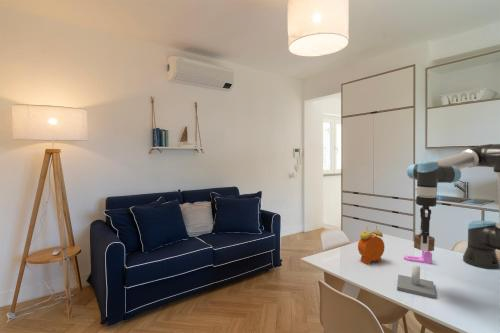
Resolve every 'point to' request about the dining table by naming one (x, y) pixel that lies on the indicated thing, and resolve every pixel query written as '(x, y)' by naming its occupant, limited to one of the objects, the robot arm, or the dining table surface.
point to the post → (416, 284)
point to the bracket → (421, 258)
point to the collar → (418, 242)
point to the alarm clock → (371, 246)
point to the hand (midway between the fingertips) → (423, 247)
